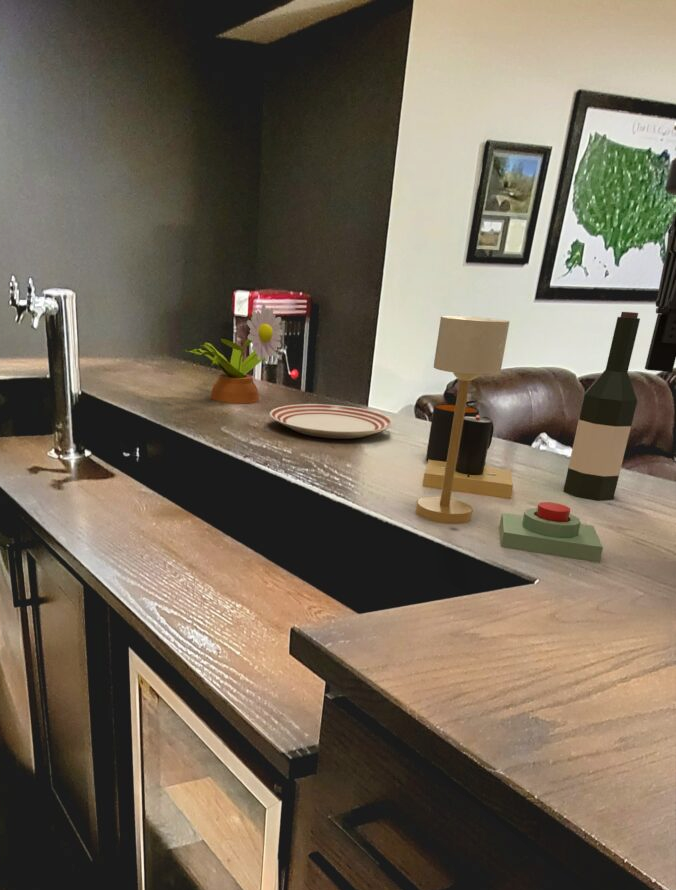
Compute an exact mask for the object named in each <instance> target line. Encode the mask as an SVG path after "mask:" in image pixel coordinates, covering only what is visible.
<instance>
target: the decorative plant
mask: <svg viewBox="0 0 676 890" xmlns="http://www.w3.org/2000/svg"><path fill="white" fill-rule="evenodd" d="M251 315H252V316H251V318H250V320H246V324H247V326H248V328H249V329H250V330H249V333H248V335H247V339H246V341H245V342H244V344H243V346H240V345H239V344H237V343H235V342H233V341H231V340H229V339H225V338H220V341H221V343H223V344H225V345H226V346H228V347H230V348H232V352H231V356H230V362H229V361H228V359H227V358H226V357H225V355H223V354H222V353H221V352H219V351H218V350H217V349H216V348H215V346H213V344H211V343H209V342H206V341H205V342H204V343H203V344H199V346H200V347H201V348H194V349H192V350H187V349H184V351H185V353H192V354H194V355H196V356H197V355H198V356H199V355H200V356H201V355H204V356H205V357H206V358H208V359H209V360H210V361H211V362H212V363H211V364H210V367H213V366H215V365H216V366H217V367H218V368H219V369H220V370H221V371H222V372H223V373H221V374H219V377H218V379H217V381H216V382H215V383H214V384H213V386H212V388H211V393H210V395H209V398H210V399H211V400H213V401H217V402H221V403H228V404H255V403H258V402H260V397H259V390H258V387H257V385H256V383H255V382H254V379H253V376H251V375H247V374H248V373H250V371H252V370H253V369H254V368H255V367H256V366H257V365H258V364H260V363H261V362H262V361H264V360H265V362H268V361H269V357H270V358H271V357H275V358H276V357H277V351H278V348H282V344H281V339H282V337H281V336H282V335H283V334H284V331H283V330H282V329H281V328H282V325H281V324H280V323H281V321H282V317H281V316H276V314H275V313H274V308H273V307H271V308H268V307H266V305H265V303H263V304H262V305H261V309H260V310H257V311H256V310H255V311H254V310H252V311H251ZM251 344H252V346H251V350H252V352H250V354H249V355H248V356H247V357H246V358H245V359H244V360H243V354H244V351H245V348H247V347H248V346H249V345H251ZM202 348H204V349H207V350H203V349H202Z"/></svg>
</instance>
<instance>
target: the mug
mask: <svg viewBox="0 0 676 890" xmlns="http://www.w3.org/2000/svg"><path fill="white" fill-rule="evenodd" d="M455 406H456V404H453V403H451V404H449V403H439V404H434V406H433V410H432V415H431V422H430V430H429V436H428V443H427V449H426V456H425V459H426V461H428V460H435V461H443V462H447V455H448V449H449V443H450V437H451V431H452V424H453V418H454V412H455ZM476 415H480V409H478V408H475V407H472V406H467V405H466V408H465V414H464V417H468V416H471V417H476ZM481 417H482V418H487V419H490V420H492V419H491V418H489V417H488V416H481ZM494 429H495V428H494V422H492V428H491V433H490V439H489V444H488V450H489V449H490V447H491V445H492V440H493V436H494Z"/></svg>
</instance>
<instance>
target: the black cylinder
mask: <svg viewBox="0 0 676 890" xmlns="http://www.w3.org/2000/svg"><path fill="white" fill-rule="evenodd" d="M482 417H483V416H480V414H479V415H476V417H471V416H468V417H464V420H463V426H462V432H461V438H460V444H459V450H458V457H457V463H456V469H455V471H457V472H459V473H463V474H468V475H481V474H483V472H484V467H486V462H487V461H486V460H487V456H488V455H487V454H488V450H489V449H488V444H489V439H490V433H491V428H492V423H494V421H493V420H492V419H491V418H489V419H487V418H482ZM490 419H491V420H490Z"/></svg>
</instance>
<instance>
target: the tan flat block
mask: <svg viewBox="0 0 676 890" xmlns="http://www.w3.org/2000/svg"><path fill="white" fill-rule="evenodd" d="M445 468H446V462H443V461H435V460H427V464H426V467H425V470H424V473H423V474H424V475H423V481H422V488H428V489H436V490H442V487H443V480H444V474H445ZM513 487H514V483H513V476H512V471H511V469H505V468H497V467H489V466H485V467H484V472H483V474H481V475H468V474H463V473H459V472H457V471H455V475H454V481H453V487H452V492H456V493H463V494H471V495H479V496H485V497H491V498H499V499H506V500H511V497H512V493H513Z"/></svg>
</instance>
